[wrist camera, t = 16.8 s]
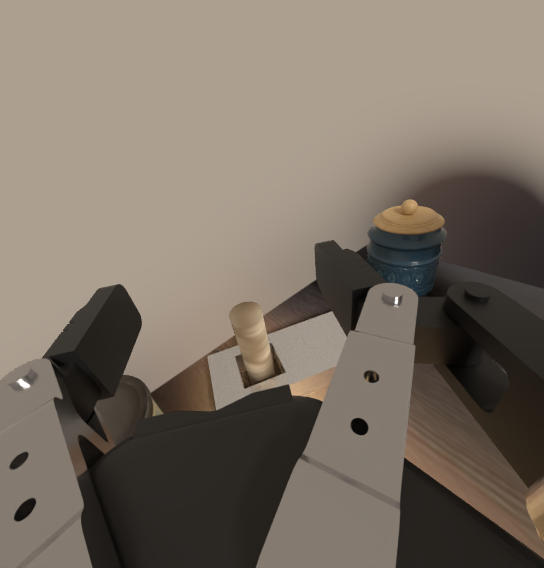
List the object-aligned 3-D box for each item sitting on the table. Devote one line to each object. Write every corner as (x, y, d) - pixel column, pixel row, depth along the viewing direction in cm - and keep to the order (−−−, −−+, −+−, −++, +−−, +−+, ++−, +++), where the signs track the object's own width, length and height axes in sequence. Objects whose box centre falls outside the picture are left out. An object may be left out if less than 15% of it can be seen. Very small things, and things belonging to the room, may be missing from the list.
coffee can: (90, 566, 25) (-26, 524, 17) (122, 451, 33) (55, 388, 25) (195, 535, 25) (131, 481, 18) (200, 431, 34) (159, 363, 26)
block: (352, 320, 47) (353, 303, 44) (391, 360, 39) (394, 342, 36) (214, 372, 42) (207, 356, 39) (225, 430, 34) (217, 414, 31)
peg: (272, 366, 41) (256, 298, 33) (280, 387, 38) (265, 316, 30) (248, 375, 40) (226, 308, 32) (255, 397, 37) (232, 328, 29)
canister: (351, 280, 57) (354, 201, 47) (396, 262, 60) (408, 185, 50) (397, 312, 47) (413, 220, 37) (448, 288, 50) (475, 198, 40)
